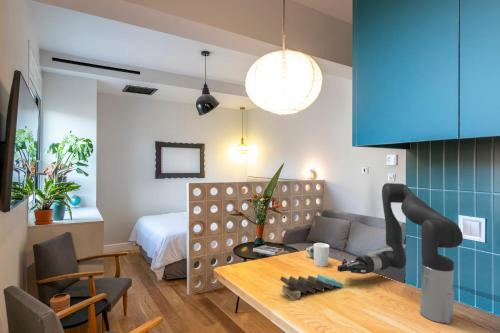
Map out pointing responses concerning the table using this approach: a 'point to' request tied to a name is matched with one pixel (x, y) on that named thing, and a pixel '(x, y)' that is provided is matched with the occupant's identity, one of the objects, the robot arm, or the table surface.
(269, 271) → the table surface
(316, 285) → the domino
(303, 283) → the domino
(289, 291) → the end stop
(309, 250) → the robot head
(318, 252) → the white cup
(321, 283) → the domino
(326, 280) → the domino
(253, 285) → the table surface
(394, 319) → the table surface
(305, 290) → the domino
